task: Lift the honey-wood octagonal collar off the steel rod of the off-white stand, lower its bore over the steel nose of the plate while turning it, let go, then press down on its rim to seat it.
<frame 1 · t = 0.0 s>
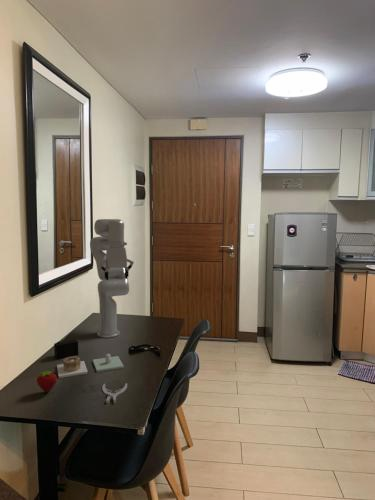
hand: (116, 278, 186), 37 cm above the table, tool pointing down, fingers open, 9 cm apart
digital camera: (66, 356, 182), on the table
collar: (72, 368, 166), point 1 cm above the table, touching stand
strawberry: (47, 392, 146), on the table
stand: (72, 370, 166), on the table
pliers: (113, 394, 146), on the table
plate: (108, 364, 172), on the table
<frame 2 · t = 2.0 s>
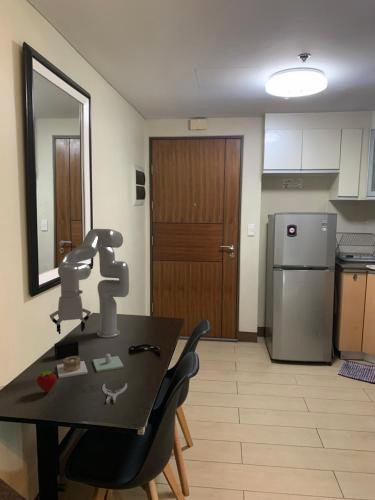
hand: (70, 331, 163), 18 cm above the table, tool pointing down, fingers open, 9 cm apart
nothing on the table moved.
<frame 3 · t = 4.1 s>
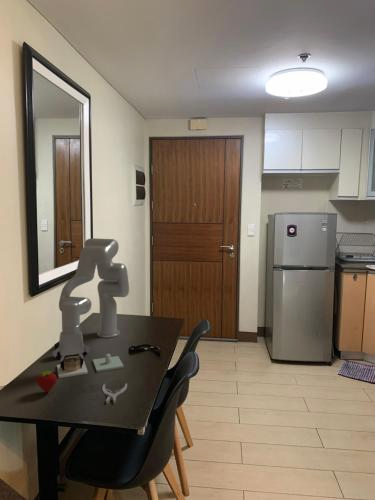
hand: (72, 367, 166), 1 cm above the table, tool pointing down, fingers closed on collar, 7 cm apart
collar: (72, 368, 166), point 1 cm above the table, touching gripper, stand
everything else where it was.
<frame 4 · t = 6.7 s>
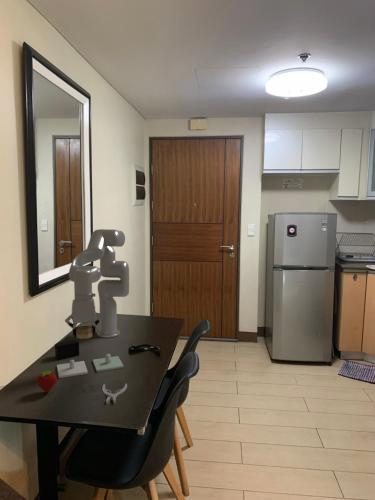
hand: (84, 335, 166), 15 cm above the table, tool pointing down, fingers closed on collar, 7 cm apart
collar: (84, 335, 166), point 15 cm above the table, touching gripper
when the fingers open (4 cm above the table, at t = 9.6 s): collar drops 2 cm, resting on plate.
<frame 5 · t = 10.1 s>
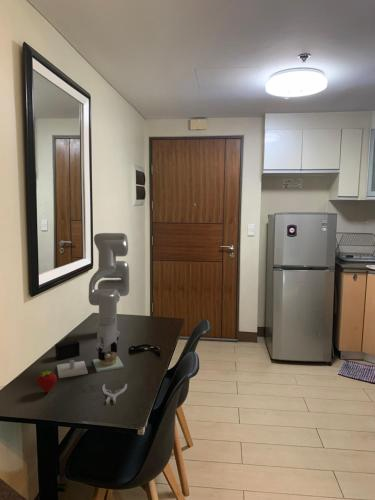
hand: (107, 355, 171), 4 cm above the table, tool pointing down, fingers open, 9 cm apart
collar: (108, 362, 172), point 1 cm above the table, touching plate
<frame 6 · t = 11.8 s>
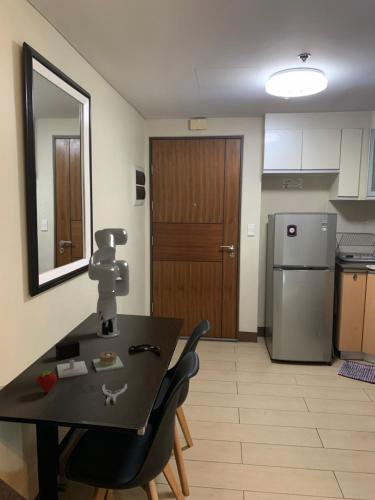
hand: (107, 333, 170), 15 cm above the table, tool pointing down, fingers closed
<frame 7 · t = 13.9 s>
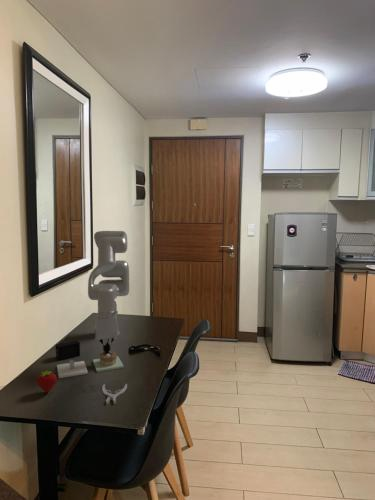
hand: (106, 352, 174), 5 cm above the table, tool pointing down, fingers closed
collar: (108, 362, 172), point 1 cm above the table, touching gripper, plate
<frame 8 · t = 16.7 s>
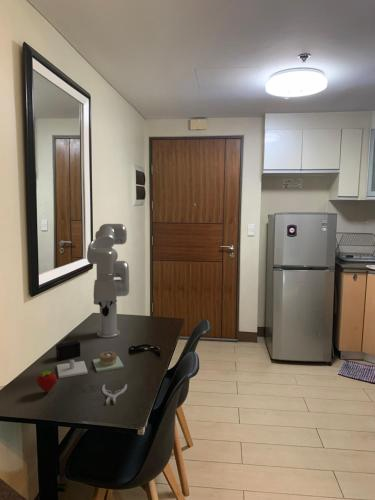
hand: (105, 315, 174), 22 cm above the table, tool pointing down, fingers closed
collar: (108, 362, 172), point 1 cm above the table, touching plate
at the end: collar 0.1 cm off-centre on the plate, point 1.0 cm above the plate's base; collar tilted 0°; the gripper is holding nothing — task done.
